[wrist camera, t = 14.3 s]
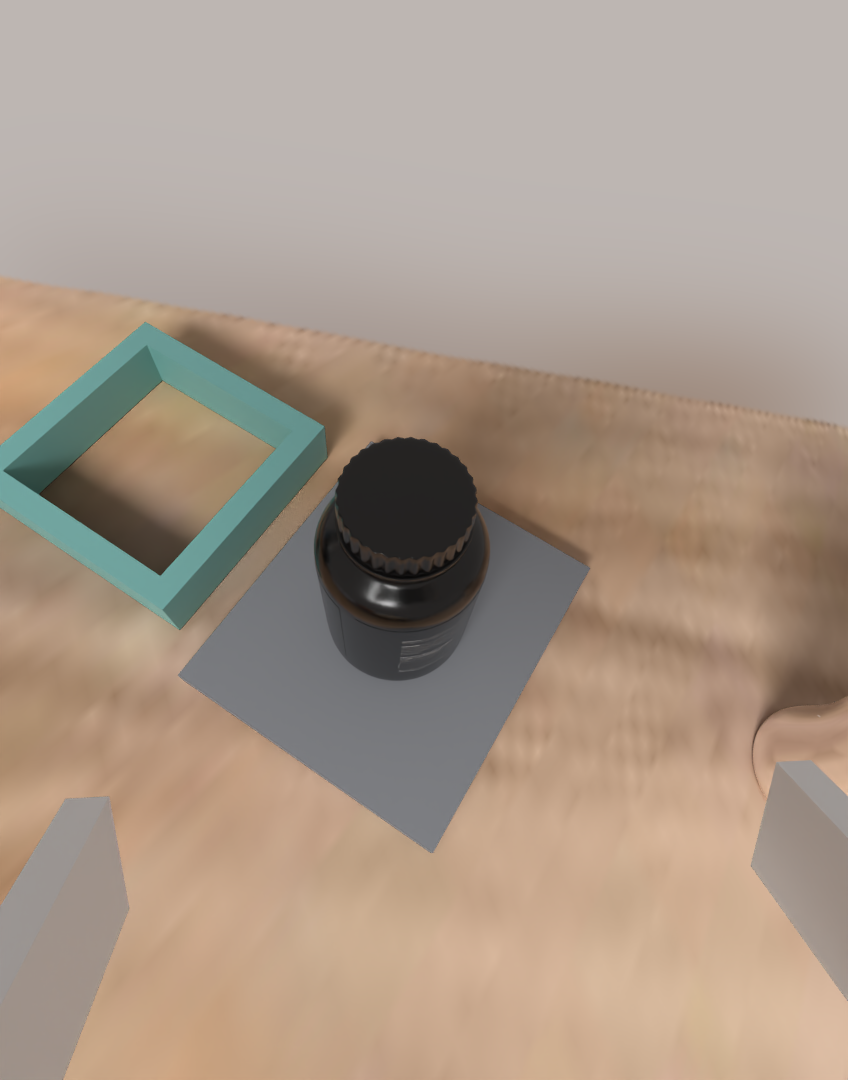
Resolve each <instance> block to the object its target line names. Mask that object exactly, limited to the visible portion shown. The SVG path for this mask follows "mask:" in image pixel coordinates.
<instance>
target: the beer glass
mask: <svg viewBox="0 0 848 1080" xmlns="http://www.w3.org/2000/svg"><path fill="white" fill-rule="evenodd" d="M805 760H811V761H812V762H813V763H815V764H816V765H817V766H818V767H819V768H820V769H821V770H822V771H823V772H824V773H825V774H826V775H827V776H828V777H829V778H830V779H831V780H832V781H833V782H834V783H835V784H836V785H837V786H838V787H839V788H840V789H841V790H842V791H843V792H844V793H845V794H846V795H847V796H848V695H847V696H845V697H844V698H842V699H840V700H838V701H836V702H834V703H830V704H826V705H803V706H793V707H788V708H784V709H781V710H779V711H777V712H775V713H773V714H772V715H771V716H769V717H768V718H767V719H766V720H765V721H764V722H763V723H762V725H761V726H760V728H759V730H758V732H757V734H756V737H755V740H754V745H753V766H754V771H755V775H756V778H757V781H758V784H759V786H760V788H761V790H762V792H763V794H764V796H765V797H766V799H767V798H768V793H769V789H770V785H771V781H772V777H773V773H774V769H775V765H776V762H785V761H805Z"/></svg>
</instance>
